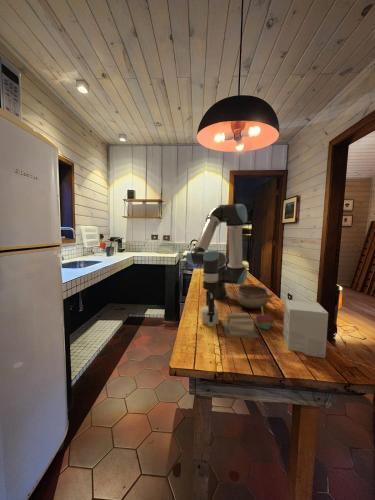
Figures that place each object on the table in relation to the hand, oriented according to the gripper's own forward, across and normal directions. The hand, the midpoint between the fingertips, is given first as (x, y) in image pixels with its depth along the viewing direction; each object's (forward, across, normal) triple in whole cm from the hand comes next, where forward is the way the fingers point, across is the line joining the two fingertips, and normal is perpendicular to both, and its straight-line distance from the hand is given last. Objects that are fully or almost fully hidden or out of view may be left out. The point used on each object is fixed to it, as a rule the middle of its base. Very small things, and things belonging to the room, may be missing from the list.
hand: (209, 322), depth 111 cm
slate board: (0, +10, +13) cm, 16 cm away
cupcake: (0, +6, +26) cm, 27 cm away
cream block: (0, 0, 0) cm, 0 cm away
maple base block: (-1, +10, +13) cm, 16 cm away
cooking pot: (0, -23, +28) cm, 36 cm away
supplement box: (0, +22, +36) cm, 42 cm away
